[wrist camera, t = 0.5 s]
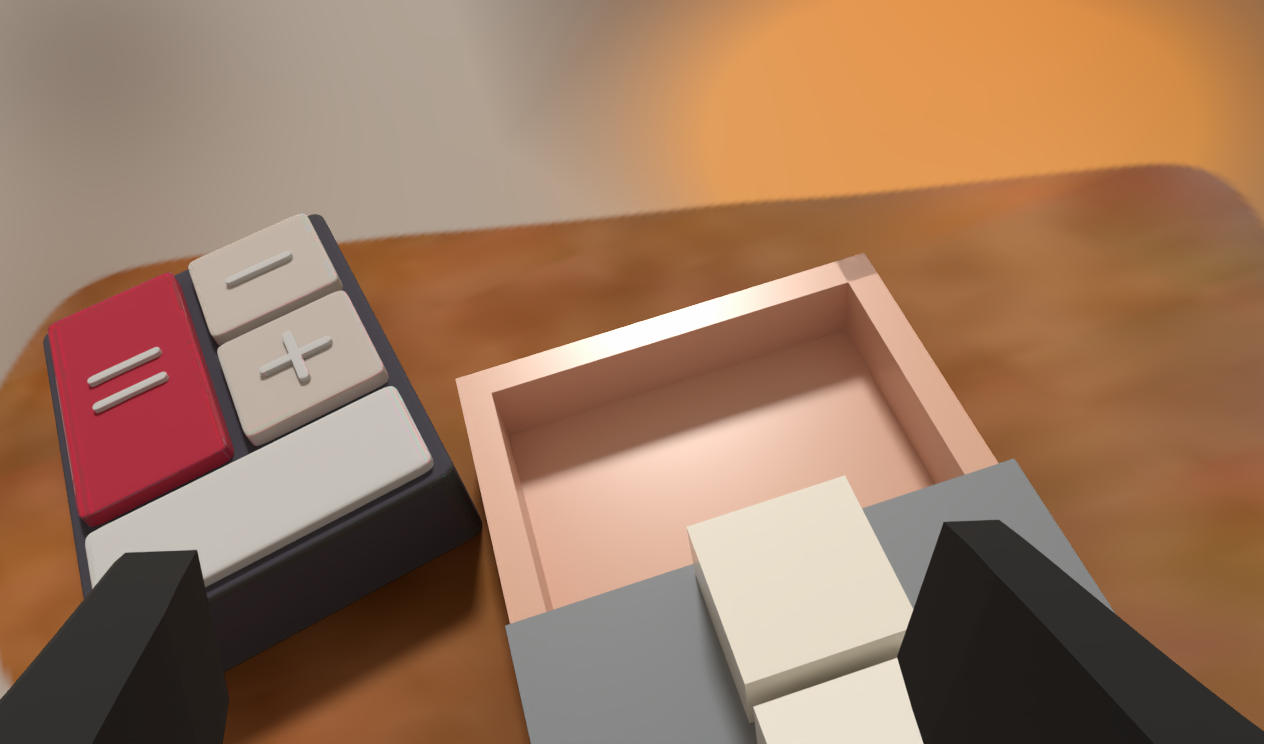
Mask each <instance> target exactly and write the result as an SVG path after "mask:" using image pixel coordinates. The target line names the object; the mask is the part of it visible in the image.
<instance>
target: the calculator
mask: <svg viewBox="0 0 1264 744" xmlns="http://www.w3.org/2000/svg"><path fill="white" fill-rule="evenodd" d="M188 268H189V269H188V270H186V271H184V272H181V273H179V274H177V275H175V276H174V275H173V274H172V273H165V274H163V275H160V276H158V277H155V278H153V279H151V280H149V281H146V282H144V283H142V284H140V285H138V286H135V287H133V288H131V289H129V290H126V291H124V292H122V293H120V294H117V295H115V296H113V297H111V298H108V299H106V300H104V301H102V302H99V303H97V304H95V305H93V306H90V307H88V308H86V309H84V310H81V311H79V312H77V313H75V314H72V315H70V316H68V317H66V318H64V319H61V320H59V321H57V322H55V323H53V324H52V325H50V326H49V328H48V334H47V335H46V336H45V338H44V341H43V344H44V351H45V357H46V364H47V370H48V376H49V383H50V389H51V395H52V401H53V408H54V414H55V420H56V427H57V433H58V439H59V446H60V452H61V458H62V464H63V471H64V477H65V483H66V490H67V496H68V502H69V509H70V515H71V521H72V527H73V534H74V540H75V546H76V553H77V559H78V565H79V571H80V578H81V584H82V590H83V597H84V599H85V598H86V596H87V595H88V594H89V593H90V591H91V590H92V589H93V588H94V586H95V585H96V584H97V583H98V582H99V580H100V579H101V578H102V577H103V575H104V574H105V573H106V572H107V570H108V569H109V568H110V567H111V566H112V564H113V563H114V562H115V561H116V560H117V559H118V558H120V557H121V556H122V555H123V554H124V553H127V552H154V551H180V550H197V551H198V556H199V561H200V565H201V570H202V575H203V579H204V584H205V589H206V593H207V598H208V602H209V607H210V612H211V616H212V621H213V626H214V630H215V635H216V640H217V644H218V649H219V654H220V658H221V663H222V668H223V672H225V671H227V670H229V669H231V668H233V667H235V666H237V665H238V664H240V663H242V662H244V661H246V660H248V659H249V658H251V657H253V656H255V655H257V654H259V653H261V652H262V651H264V650H266V649H268V648H270V647H272V646H274V645H275V644H277V643H279V642H281V641H283V640H285V639H287V638H288V637H290V636H292V635H294V634H296V633H298V632H300V631H301V630H303V629H305V628H307V627H309V626H311V625H312V624H314V623H316V622H318V621H320V620H322V619H324V618H325V617H327V616H329V615H331V614H333V613H335V612H337V611H338V610H340V609H342V608H344V607H346V606H348V605H350V604H351V603H353V602H355V601H357V600H359V599H361V598H363V597H364V596H366V595H368V594H370V593H372V592H374V591H375V590H377V589H379V588H381V587H383V586H385V585H387V584H388V583H390V582H392V581H394V580H396V579H398V578H400V577H401V576H403V575H405V574H407V573H409V572H411V571H413V570H414V569H416V568H418V567H420V566H422V565H424V564H425V563H427V562H429V561H431V560H433V559H435V558H437V557H438V556H440V555H442V554H444V553H446V552H448V551H450V550H451V549H453V548H455V547H457V546H459V545H461V544H463V543H464V542H466V541H468V540H470V539H471V538H473V537H475V536H476V535H477V534H478V533H479V532H480V530H481V528H482V521H481V518H480V516H479V514H478V512H477V510H476V508H475V506H474V504H473V502H472V500H471V498H470V496H469V494H468V492H467V490H466V488H465V486H464V484H463V482H462V480H461V478H460V476H459V474H458V472H457V470H456V468H455V466H454V465H453V463H452V461H451V459H450V457H449V455H448V453H447V451H446V449H445V447H444V445H443V444H442V442H441V440H440V438H439V436H438V434H437V432H436V430H435V428H434V426H433V425H432V423H431V421H430V419H429V417H428V415H427V413H426V411H425V409H424V408H423V406H422V404H421V402H420V400H419V398H418V396H417V394H416V392H415V390H414V389H413V387H412V385H411V383H410V381H409V379H408V377H407V375H406V373H405V371H404V370H403V368H402V366H401V364H400V362H399V360H398V358H397V356H396V354H395V352H394V351H393V349H392V347H391V345H390V343H389V341H388V339H387V337H386V335H385V334H384V332H383V330H382V328H381V326H380V324H379V322H378V320H377V318H376V316H375V315H374V313H373V311H372V309H371V307H370V305H369V303H368V301H367V299H366V297H365V296H364V294H363V292H362V290H361V288H360V286H359V284H358V282H357V280H356V279H355V277H354V275H353V273H352V271H351V269H350V267H349V265H348V263H347V261H346V260H345V258H344V256H343V254H342V252H341V250H340V248H339V246H338V244H337V242H336V241H335V239H334V237H333V235H332V233H331V231H330V229H329V227H328V226H327V224H326V222H325V220H324V219H323V217H322V216H320V215H317V214H314V215H309V216H306V214H303V213H301V214H298V215H295V216H293V217H290V218H288V219H286V220H283V221H281V222H279V223H277V224H274V225H272V226H270V227H268V228H265V229H263V230H261V231H259V232H256V233H254V234H252V235H250V236H248V237H245V238H243V239H241V240H239V241H236V242H234V243H232V244H230V245H227V246H225V247H223V248H221V249H218V250H216V251H214V252H212V253H209V254H207V255H205V256H203V257H200V258H198V259H196V260H194V261H192V262H191V263H190V264H189V266H188Z"/></svg>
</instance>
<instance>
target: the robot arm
mask: <svg viewBox="0 0 1264 744" xmlns="http://www.w3.org/2000/svg"><path fill="white" fill-rule="evenodd" d="M897 659H898V662H899V666H900V669H901V673H902V676H903V680H904V683H905V686H906V690H907V693H908V697H909V700H910V704H911V707H912V710H913V713H914V716H915V719H916V722H917V725H918V729H919V732H920V735H921V738H922V741H923V744H1264V731H1263V730H1261V729H1260V728H1259V727H1257V726H1256V725H1254V724H1253V723H1252V722H1250V721H1249V720H1248V719H1246V718H1245V717H1244V716H1242V715H1241V714H1240V713H1239V712H1237V711H1236V710H1235V709H1233V708H1232V707H1231V706H1230V705H1228V704H1227V703H1226V702H1224V701H1223V700H1222V699H1220V698H1219V697H1218V696H1217V695H1215V694H1214V693H1213V692H1211V691H1210V690H1209V689H1208V688H1206V687H1205V686H1204V685H1203V684H1201V683H1200V682H1199V681H1197V680H1196V679H1195V678H1194V677H1192V676H1191V675H1190V674H1189V673H1187V672H1186V671H1185V670H1184V669H1182V668H1181V667H1180V666H1179V665H1177V664H1176V663H1175V662H1174V661H1172V660H1171V659H1170V658H1169V657H1167V656H1166V655H1165V654H1164V653H1162V652H1161V651H1160V650H1159V649H1158V648H1156V647H1155V646H1154V645H1153V644H1151V643H1150V642H1149V641H1148V640H1146V639H1145V638H1144V637H1143V636H1142V635H1140V634H1139V633H1138V632H1137V631H1135V630H1134V629H1133V628H1132V627H1131V626H1129V625H1128V624H1127V623H1126V622H1124V621H1123V620H1122V619H1121V618H1120V617H1118V616H1117V615H1116V614H1115V613H1114V612H1112V611H1111V610H1110V609H1109V608H1108V607H1106V606H1105V605H1104V604H1103V603H1102V602H1100V601H1099V600H1098V599H1097V598H1096V597H1094V596H1093V595H1092V594H1091V593H1089V592H1088V591H1087V590H1086V589H1085V588H1083V587H1082V586H1081V585H1080V584H1079V583H1077V582H1076V581H1075V580H1074V579H1073V578H1071V577H1070V576H1069V575H1068V574H1067V573H1065V572H1064V571H1063V570H1062V569H1061V568H1059V567H1058V566H1057V565H1056V564H1054V563H1053V562H1052V561H1051V560H1050V559H1048V558H1047V557H1046V556H1045V555H1044V554H1042V553H1041V552H1040V551H1039V550H1037V549H1036V548H1035V547H1034V546H1032V545H1031V544H1030V543H1029V542H1027V541H1026V540H1025V539H1024V538H1022V537H1021V536H1020V535H1019V534H1017V533H1016V532H1015V531H1013V530H1012V529H1011V528H1009V527H1008V526H1007V525H1005V524H1004V523H1003V522H1002V521H1000V520H976V521H950V522H943V525H942V528H941V531H940V534H939V537H938V540H937V543H936V545H935V548H934V551H933V554H932V557H931V560H930V563H929V566H928V569H927V571H926V574H925V577H924V580H923V583H922V586H921V589H920V592H919V594H918V597H917V600H916V603H915V606H914V609H913V612H912V615H911V618H910V620H909V623H908V626H907V629H906V632H905V635H904V638H903V641H902V643H901V646H900V649H899V652H898V655H897ZM228 702H229V695H228V691H227V686H226V682H225V677H224V672H223V668H222V663H221V658H220V654H219V649H218V644H217V640H216V635H215V630H214V626H213V621H212V616H211V612H210V607H209V602H208V598H207V593H206V589H205V584H204V579H203V575H202V570H201V565H200V561H199V556H198V551H197V550H180V551H154V552H127V553H124V554H123V555H122V556H121V557H120V558H118V559H117V560H116V561H115V562H114V563H113V564H112V566H111V567H110V568H109V569H108V570H107V572H106V573H105V574H104V575H103V577H102V578H101V579H100V580H99V582H98V583H97V584H96V585H95V586H94V588H93V589H92V590H91V591H90V593H89V594H88V595H87V596H86V598H85V599H84V600H83V601H82V602H81V604H80V605H79V606H78V607H77V609H76V610H75V611H74V612H73V614H72V615H71V616H70V617H69V618H68V620H67V621H66V622H65V623H64V625H63V626H62V627H61V628H60V629H59V631H58V632H57V633H56V634H55V636H54V637H53V638H52V639H51V640H50V642H49V643H48V644H47V645H46V646H45V648H44V649H43V650H42V651H41V652H40V654H39V655H38V656H37V657H36V658H35V659H34V661H33V662H32V663H31V664H30V665H29V667H28V668H27V669H26V670H25V671H24V673H23V674H22V675H21V676H20V677H19V678H18V680H17V681H16V682H15V683H14V684H13V686H12V687H11V688H10V689H9V690H8V691H7V693H6V694H5V695H4V696H3V697H2V698H1V699H0V744H223V737H224V730H225V723H226V716H227V709H228Z"/></svg>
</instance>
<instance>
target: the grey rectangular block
mask: <svg viewBox="0 0 1264 744" xmlns="http://www.w3.org/2000/svg"><path fill="white" fill-rule="evenodd" d="M862 510H863V512H864V514H865V516H866V517H867V519H868V521H869V523H870V525H871V527H872V529H873V531H874V533H875V535H876V537H877V539H878V541H879V543H880V545H881V547H882V549H883V551H884V553H885V555H886V557H887V559H888V561H889V562H890V564H891V566H892V568H893V570H894V572H895V574H896V576H897V578H898V580H899V582H900V584H901V586H902V588H903V590H904V592H905V594H906V596H907V598H908V600H909V602H910V604H911V606H912V607H913V609H914V606H915V603H916V600H917V597H918V594H919V592H920V589H921V586H922V583H923V580H924V577H925V574H926V571H927V569H928V566H929V563H930V560H931V557H932V554H933V551H934V548H935V545H936V543H937V540H938V537H939V534H940V531H941V528H942V525H943V522H950V521H976V520H1000V521H1002V522H1003V523H1004V524H1005V525H1007V526H1008V527H1009V528H1011V529H1012V530H1013V531H1015V532H1016V533H1017V534H1019V535H1020V536H1021V537H1022V538H1024V539H1025V540H1026V541H1027V542H1029V543H1030V544H1031V545H1032V546H1034V547H1035V548H1036V549H1037V550H1039V551H1040V552H1041V553H1042V554H1044V555H1045V556H1046V557H1047V558H1048V559H1050V560H1051V561H1052V562H1053V563H1054V564H1056V565H1057V566H1058V567H1059V568H1061V569H1062V570H1063V571H1064V572H1065V573H1067V574H1068V575H1069V576H1070V577H1071V578H1073V579H1074V580H1075V581H1076V582H1077V583H1079V584H1080V585H1081V586H1082V587H1083V588H1085V589H1086V590H1087V591H1088V592H1089V593H1091V594H1092V595H1093V596H1094V597H1096V598H1097V599H1098V600H1099V601H1100V602H1102V603H1103V604H1104V605H1105V606H1106V607H1108V608H1109V609H1110V610H1111V611H1112V612H1114V611H1113V609H1112V608H1111V606H1110V605H1109V603H1108V602H1107V600H1106V598H1105V597H1104V595H1103V594H1102V592H1101V591H1100V589H1099V588H1098V586H1097V585H1096V583H1095V582H1094V580H1093V579H1092V577H1091V575H1090V574H1089V572H1088V571H1087V569H1086V568H1085V566H1084V565H1083V563H1082V562H1081V560H1080V559H1079V557H1078V556H1077V554H1076V553H1075V551H1074V549H1073V548H1072V546H1071V545H1070V543H1069V542H1068V540H1067V539H1066V537H1065V536H1064V534H1063V533H1062V531H1061V530H1060V528H1059V526H1058V525H1057V523H1056V522H1055V520H1054V519H1053V517H1052V516H1051V514H1050V513H1049V511H1048V510H1047V508H1046V507H1045V505H1044V503H1043V502H1042V500H1041V499H1040V497H1039V496H1038V494H1037V493H1036V491H1035V490H1034V488H1033V487H1032V485H1031V484H1030V482H1029V480H1028V479H1027V477H1026V476H1025V474H1024V473H1023V471H1022V470H1021V468H1020V467H1019V465H1018V464H1017V462H1016V461H1015V459H1011V460H1008V461H1005V462H1002V463H999V464H996V465H993V466H990V467H987V468H984V469H981V470H978V471H975V472H971V473H968V474H965V475H962V476H959V477H956V478H953V479H950V480H947V481H944V482H941V483H938V484H935V485H932V486H929V487H926V488H923V489H920V490H917V491H914V492H911V493H907V494H904V495H901V496H898V497H895V498H892V499H889V500H886V501H883V502H880V503H877V504H874V505H871V506H868V507H865V508H862ZM1114 613H1115V612H1114ZM505 628H506V632H507V637H508V641H509V646H510V650H511V655H512V660H513V664H514V669H515V673H516V678H517V682H518V687H519V692H520V696H521V701H522V705H523V710H524V714H525V719H526V724H527V728H528V733H529V737H530V742H531V744H757V738H756V729H755V722H753V723H750V724H749V721H748V718H747V715H746V713H745V710H744V707H743V704H742V702H741V699H740V696H739V693H738V691H737V688H736V685H735V682H734V680H733V677H732V674H731V671H730V669H729V666H728V663H727V661H726V658H725V655H724V652H723V650H722V647H721V644H720V641H719V639H718V636H717V633H716V630H715V628H714V625H713V622H712V619H711V617H710V614H709V611H708V608H707V606H706V603H705V600H704V598H703V595H702V592H701V589H700V587H699V584H698V581H697V578H696V576H695V571H694V566H693V564H691V565H688V566H685V567H682V568H679V569H676V570H673V571H670V572H667V573H664V574H661V575H657V576H654V577H651V578H648V579H645V580H642V581H639V582H636V583H633V584H630V585H627V586H624V587H621V588H618V589H615V590H612V591H609V592H606V593H603V594H600V595H597V596H593V597H590V598H587V599H584V600H581V601H578V602H575V603H572V604H569V605H566V606H563V607H560V608H557V609H554V610H551V611H548V612H545V613H542V614H539V615H536V616H532V617H529V618H526V619H523V620H520V621H517V622H514V623H511V624H508V625H505Z"/></svg>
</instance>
